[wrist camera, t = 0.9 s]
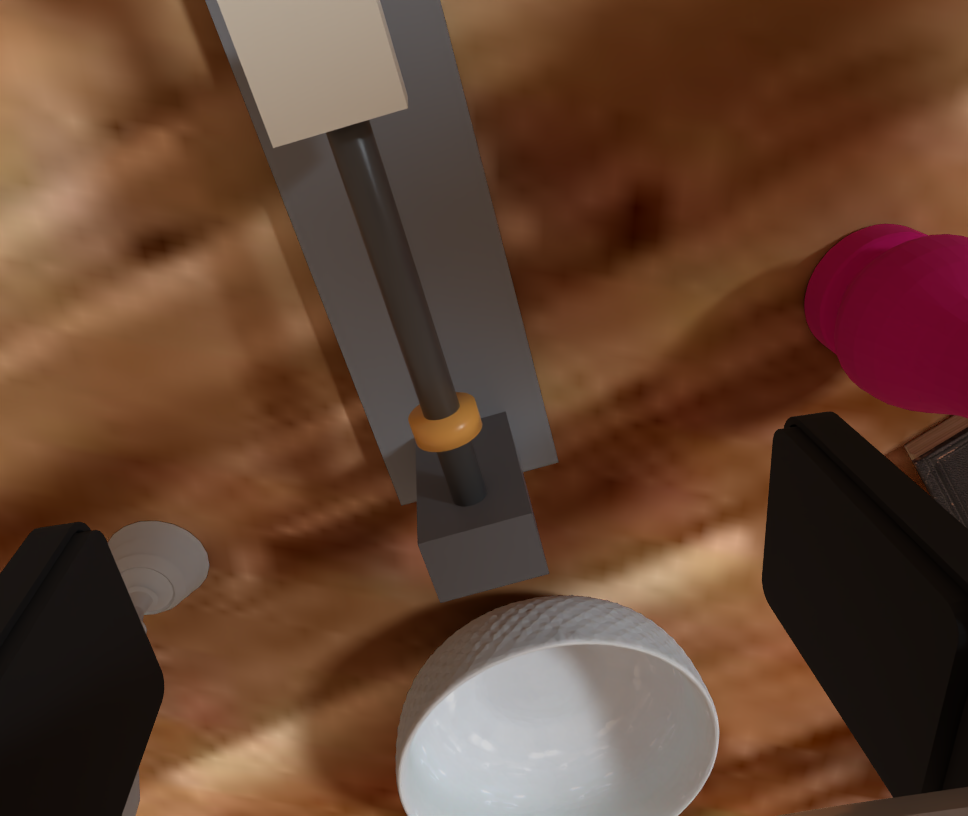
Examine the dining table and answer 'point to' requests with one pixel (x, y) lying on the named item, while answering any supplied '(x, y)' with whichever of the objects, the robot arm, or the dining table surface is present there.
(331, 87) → the sleeve
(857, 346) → the pepper mill
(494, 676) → the cereal bowl
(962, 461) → the hardcover book
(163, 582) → the chalice
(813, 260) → the dining table surface
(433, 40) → the linear slide rail
